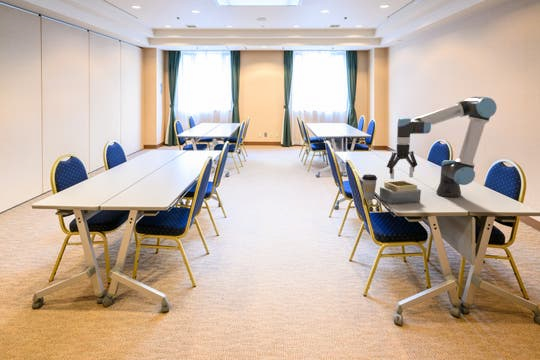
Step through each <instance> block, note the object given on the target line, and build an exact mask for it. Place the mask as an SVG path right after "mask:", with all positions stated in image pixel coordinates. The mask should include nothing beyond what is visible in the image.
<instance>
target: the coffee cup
mask: <svg viewBox="0 0 540 360" xmlns="http://www.w3.org/2000/svg"><path fill="white" fill-rule="evenodd" d="M361 179H362V192H363V199H364V200H367V201H372V200H374V198H375V192H376V186H377V180H378V177H377V175H375V174H363V176H362V177H361Z"/></svg>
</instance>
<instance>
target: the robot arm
mask: <svg viewBox="0 0 540 360" xmlns="http://www.w3.org/2000/svg"><path fill="white" fill-rule="evenodd" d="M496 111H497V103H496V102H495V100H494V99H493V98H492V97H487V96H472V97H469V98H466V99H464V100H461V101H458V102H456V103H455V104H454V105H451V106H448V107H444V108H442V109H438V110H436V111H433V112H430V113H426V114H424V115H421V116H418V117H415V118H410V117H399V118H398V121H397V128H396V129H397V135H396V137H397V138H396V152H394V151H392V152H391V155H390V158H389V160H388V162H387V164H386V168H388V169H389V175H390V176H389V177H390V179H391V180H394V179H395V168H394V167H396V165H397V164H398V162H399V161H400V160H406V161H407V163H408V164H409V165H410V166H409V174H408V175H409V176H408V177H409V178H414V172H415V168H416V166H418V163H417V160H416V157H415V155H414V151H413V150H410V148H411V147H410V146H411V135H413V134H414V135H417V134H420V135H421V134H423V135H424V134H430V132H431V131H432V126H434V125H437V124H439V123H444V122H445V121H449V120H452V119H456V118H458V117H459V118H463V117H466V116H468V119H469V123H468V125H467V126H468V127H467V130H466V133H465V136H464V140H463V141H462V142H463V143H462V146H461V149H460V151H459V156H458V158H457V159H454V160H453V159H452V160H451V159H448V160H446V159H445V160H443V161H441V165H440V166H441V168H440V181H439V185H438V186H437V189H436V191H435V193H436V195H437V196H440V197H445V198H459V197H461V196H462V191H461V186H466V185H467V186H468V185H469V184H471V183H472V182H473V181H474V180H475V177H476V172H475V170H474V169H475V163H474V159H475V157H476V153H477V150H478V147H479V145H480V141H481V137H482V134H483V132H484V128H485V126H486V124H487V123H489V121H490V118H491V117H492V116H494V115H495V114H496Z"/></svg>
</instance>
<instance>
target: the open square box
mask: <svg viewBox="0 0 540 360" xmlns="http://www.w3.org/2000/svg"><path fill="white" fill-rule="evenodd" d="M383 182H384V183H383V184H384V186H380V187H379V197H378V198H379V199H378V200H380V201H382V202H385V203H387V204H389V205H391V206H394V204H396V205H405V204H417V203H421V195H422V190H421V189H419V188H418V185H417V184H415V183H412V182H409V181H406V180H393V181H383Z"/></svg>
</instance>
